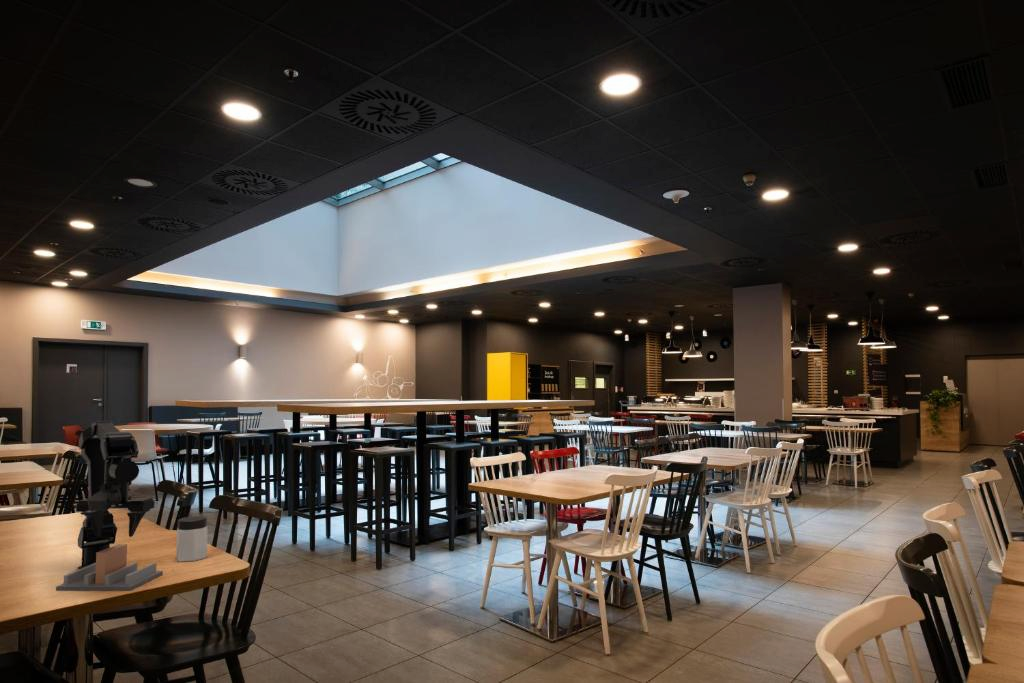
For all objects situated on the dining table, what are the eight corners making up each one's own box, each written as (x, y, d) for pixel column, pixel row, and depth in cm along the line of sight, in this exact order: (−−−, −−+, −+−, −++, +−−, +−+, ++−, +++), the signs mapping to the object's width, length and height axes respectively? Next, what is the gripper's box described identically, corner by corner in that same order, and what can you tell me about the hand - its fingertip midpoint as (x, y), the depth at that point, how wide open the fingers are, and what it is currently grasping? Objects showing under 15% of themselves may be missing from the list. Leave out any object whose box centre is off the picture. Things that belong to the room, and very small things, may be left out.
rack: (55, 590, 165) (56, 576, 165) (93, 574, 179) (93, 561, 179) (131, 590, 164) (131, 576, 164) (162, 574, 178) (162, 561, 178)
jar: (194, 553, 201) (195, 514, 202) (213, 555, 197) (214, 516, 198) (169, 560, 193) (170, 520, 193) (187, 563, 189) (189, 522, 190)
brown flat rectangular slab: (95, 583, 167) (96, 552, 167) (117, 573, 176) (118, 544, 176) (104, 583, 167) (105, 552, 167) (126, 573, 176) (127, 544, 176)
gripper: (61, 483, 167) (59, 543, 166) (131, 483, 166) (128, 544, 165) (91, 477, 178) (89, 533, 177) (156, 477, 177) (154, 534, 176)
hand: (114, 536), depth 173 cm, fingers open, 9 cm apart
